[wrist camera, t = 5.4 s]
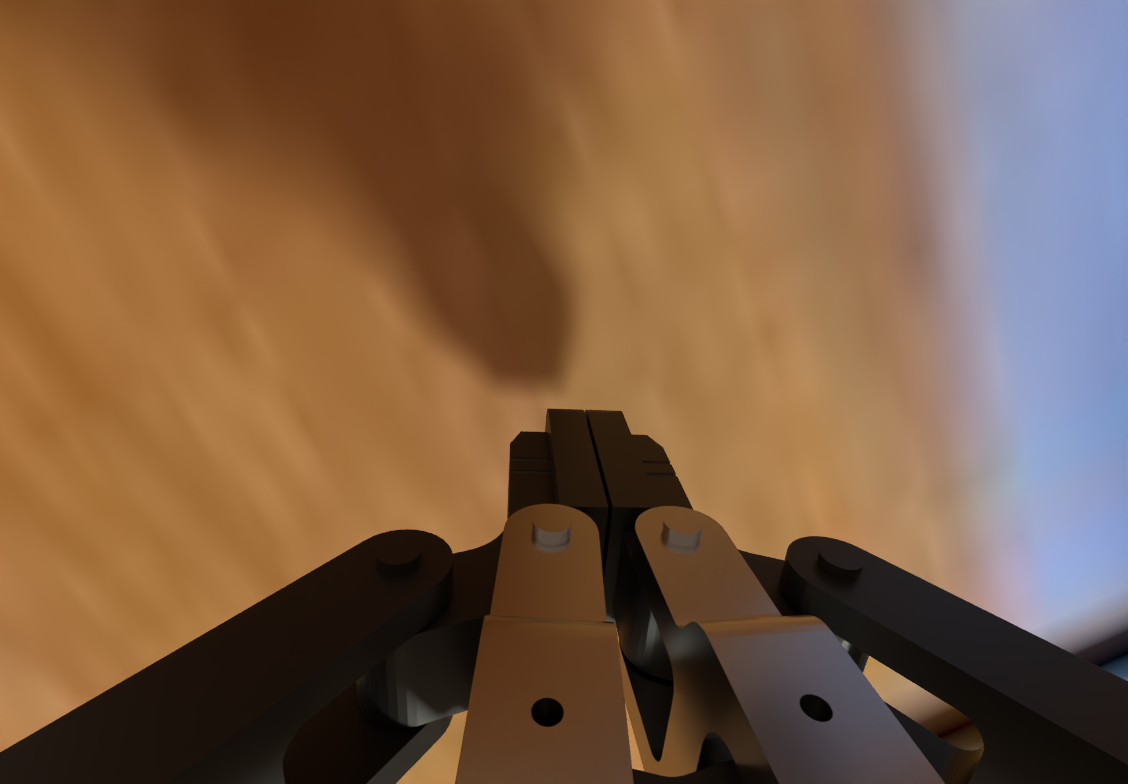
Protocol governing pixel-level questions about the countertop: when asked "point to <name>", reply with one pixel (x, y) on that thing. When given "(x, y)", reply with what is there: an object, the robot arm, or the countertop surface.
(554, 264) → the countertop surface
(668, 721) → the robot arm
